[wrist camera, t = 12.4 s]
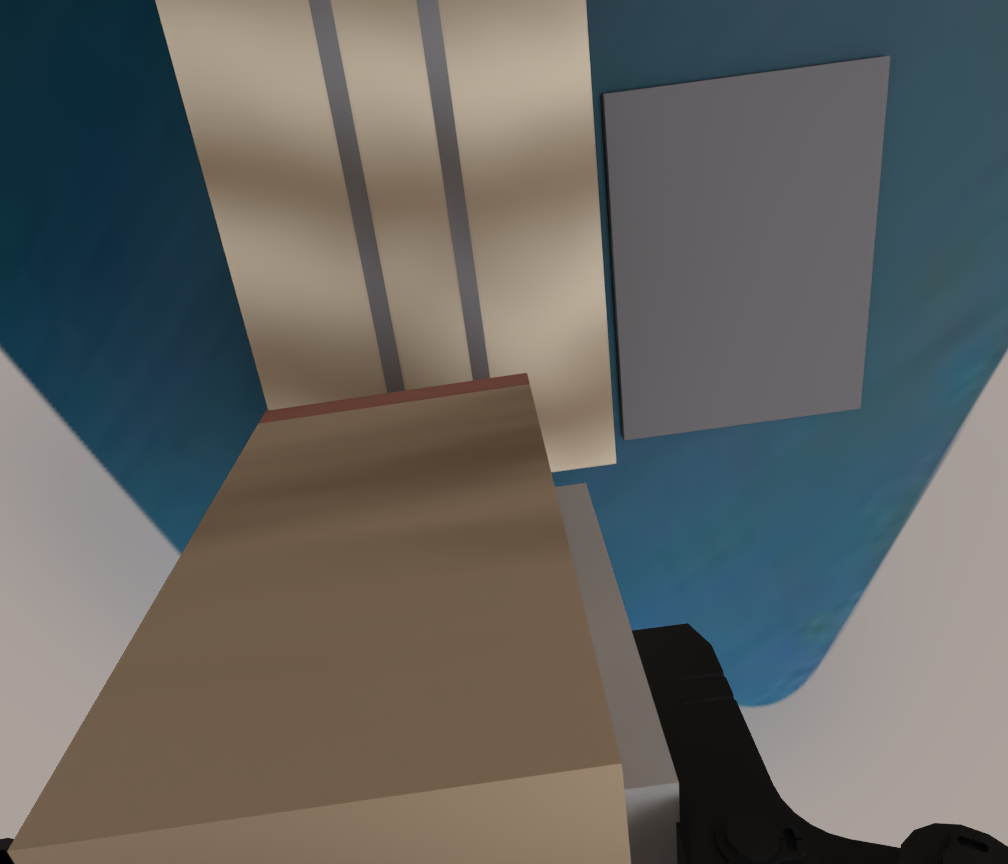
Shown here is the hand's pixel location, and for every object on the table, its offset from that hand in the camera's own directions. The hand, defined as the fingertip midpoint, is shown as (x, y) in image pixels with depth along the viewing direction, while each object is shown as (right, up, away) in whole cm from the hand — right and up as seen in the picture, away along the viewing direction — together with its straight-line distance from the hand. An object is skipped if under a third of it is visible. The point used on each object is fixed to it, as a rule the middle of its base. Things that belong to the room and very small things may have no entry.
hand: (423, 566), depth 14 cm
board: (-2, +11, +10) cm, 15 cm away
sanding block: (0, 0, +1) cm, 1 cm away
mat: (+10, +8, +12) cm, 17 cm away
